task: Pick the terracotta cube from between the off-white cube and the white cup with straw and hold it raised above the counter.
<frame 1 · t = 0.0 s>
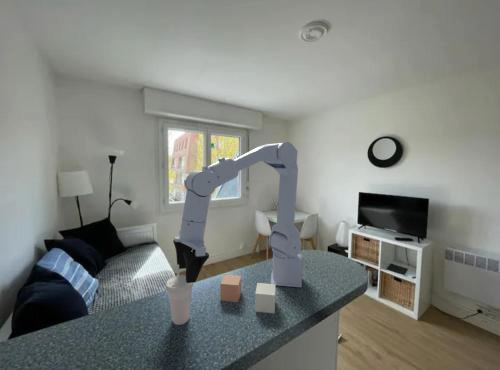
hand: (186, 274, 54), 11 cm above the breakfast bar, tool pointing down, fingers open, 7 cm apart
terracotta cube: (231, 296, 63), on the breakfast bar
white cup with straw: (180, 319, 53), on the breakfast bar
offwhite cube: (265, 306, 59), on the breakfast bar
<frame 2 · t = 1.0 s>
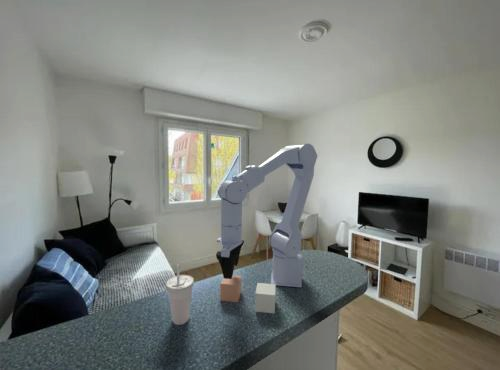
hand: (231, 271, 62), 7 cm above the breakfast bar, tool pointing down, fingers open, 7 cm apart
nothing on the breakfast bar moved.
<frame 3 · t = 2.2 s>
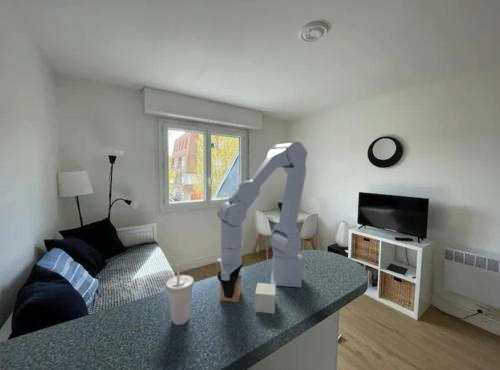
hand: (231, 291, 63), 1 cm above the breakfast bar, tool pointing down, fingers closed on terracotta cube, 5 cm apart
terracotta cube: (231, 295, 63), on the breakfast bar, touching gripper
everything else where it was.
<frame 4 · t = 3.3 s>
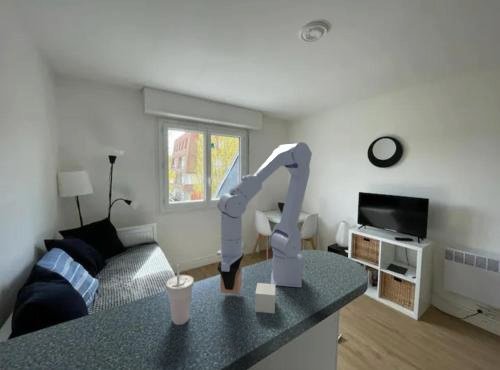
hand: (231, 283, 63), 4 cm above the breakfast bar, tool pointing down, fingers closed on terracotta cube, 5 cm apart
terracotta cube: (231, 288, 63), point 2 cm above the breakfast bar, touching gripper
everything else where it was.
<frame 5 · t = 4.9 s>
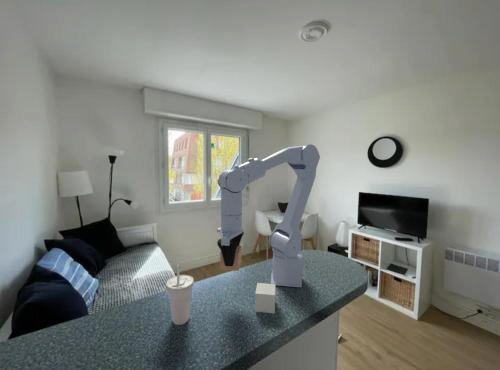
hand: (231, 261, 62), 10 cm above the breakfast bar, tool pointing down, fingers closed on terracotta cube, 5 cm apart
terracotta cube: (231, 265, 62), point 9 cm above the breakfast bar, touching gripper
everything else where it was.
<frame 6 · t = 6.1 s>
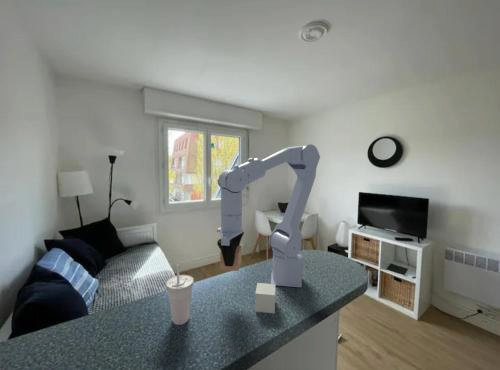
hand: (231, 261, 62), 10 cm above the breakfast bar, tool pointing down, fingers closed on terracotta cube, 5 cm apart
terracotta cube: (231, 265, 62), point 9 cm above the breakfast bar, touching gripper
everything else where it was.
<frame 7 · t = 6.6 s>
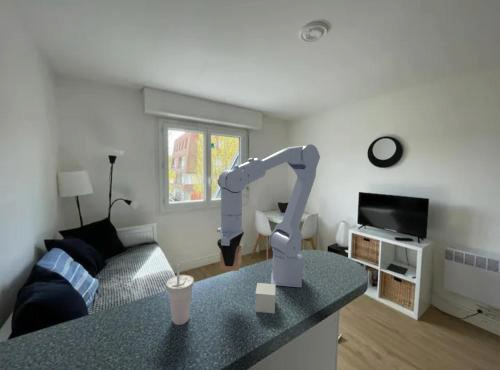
hand: (231, 261, 62), 10 cm above the breakfast bar, tool pointing down, fingers closed on terracotta cube, 5 cm apart
terracotta cube: (231, 265, 62), point 9 cm above the breakfast bar, touching gripper
everything else where it was.
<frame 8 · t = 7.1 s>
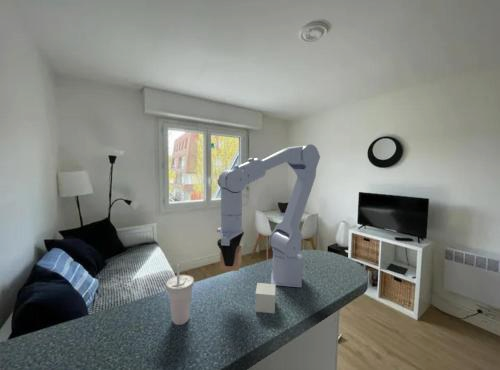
hand: (231, 261, 62), 10 cm above the breakfast bar, tool pointing down, fingers closed on terracotta cube, 5 cm apart
terracotta cube: (231, 265, 62), point 9 cm above the breakfast bar, touching gripper
everything else where it was.
at the end: the gripper is holding terracotta cube; terracotta cube point 9.0 cm above the breakfast bar; offwhite cube moved 0.1 cm from its start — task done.
